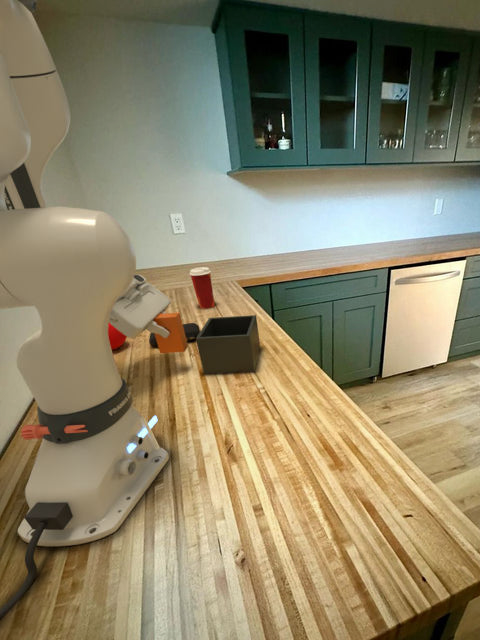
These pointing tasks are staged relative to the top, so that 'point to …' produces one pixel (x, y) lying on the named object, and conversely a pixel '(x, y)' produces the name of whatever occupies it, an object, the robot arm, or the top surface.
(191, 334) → the carrying case
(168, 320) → the block
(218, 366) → the trash bin
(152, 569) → the top surface
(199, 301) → the paper cup
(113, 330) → the tomato
